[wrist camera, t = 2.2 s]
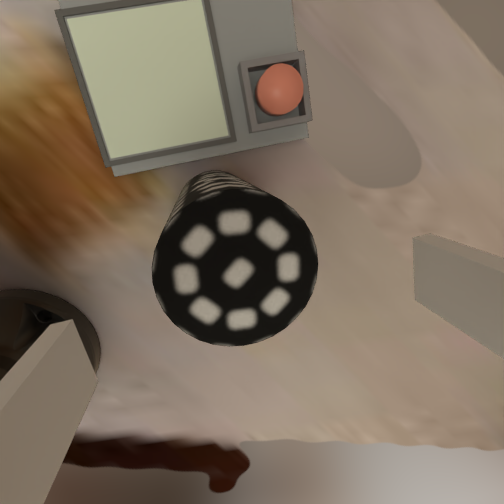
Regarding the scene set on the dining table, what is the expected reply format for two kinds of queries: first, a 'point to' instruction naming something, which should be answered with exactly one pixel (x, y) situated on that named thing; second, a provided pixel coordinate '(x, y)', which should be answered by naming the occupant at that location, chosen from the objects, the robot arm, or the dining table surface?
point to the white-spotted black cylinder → (233, 262)
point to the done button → (279, 90)
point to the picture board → (180, 76)
